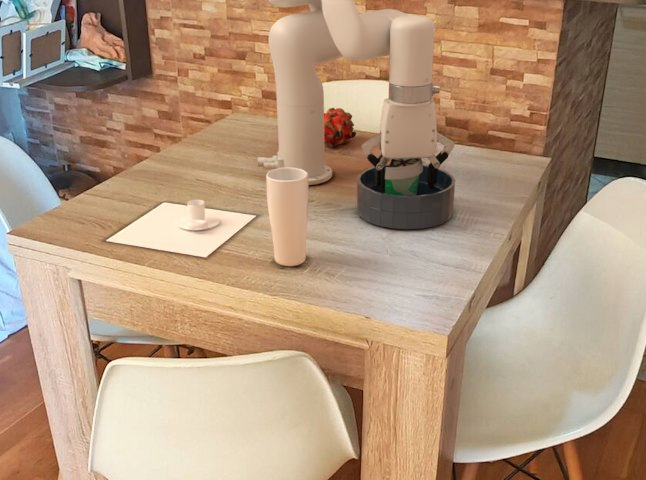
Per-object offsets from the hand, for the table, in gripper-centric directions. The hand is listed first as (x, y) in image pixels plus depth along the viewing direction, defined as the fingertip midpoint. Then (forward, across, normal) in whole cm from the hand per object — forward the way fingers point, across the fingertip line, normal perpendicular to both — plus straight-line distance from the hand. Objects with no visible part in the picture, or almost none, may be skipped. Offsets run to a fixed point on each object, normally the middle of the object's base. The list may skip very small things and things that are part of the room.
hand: (406, 187), depth 154 cm
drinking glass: (+5, +23, +20) cm, 30 cm away
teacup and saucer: (+5, +42, +4) cm, 42 cm away
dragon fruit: (+5, +10, -44) cm, 45 cm away
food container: (+5, 0, 0) cm, 5 cm away
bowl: (+5, 0, 0) cm, 5 cm away
